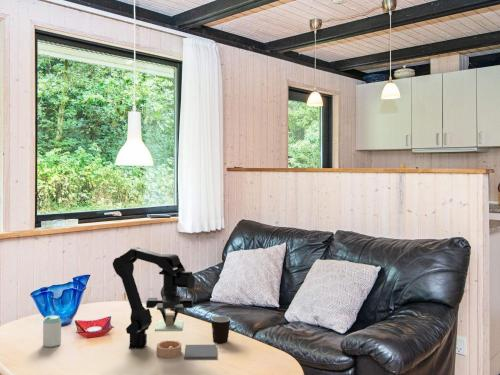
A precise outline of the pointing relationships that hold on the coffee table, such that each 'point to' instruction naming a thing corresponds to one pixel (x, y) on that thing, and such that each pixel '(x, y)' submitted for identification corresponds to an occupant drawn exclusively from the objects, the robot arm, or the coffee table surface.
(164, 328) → the lid
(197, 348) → the mat
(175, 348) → the bowl
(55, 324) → the can
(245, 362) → the coffee table surface
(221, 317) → the coffee mug
